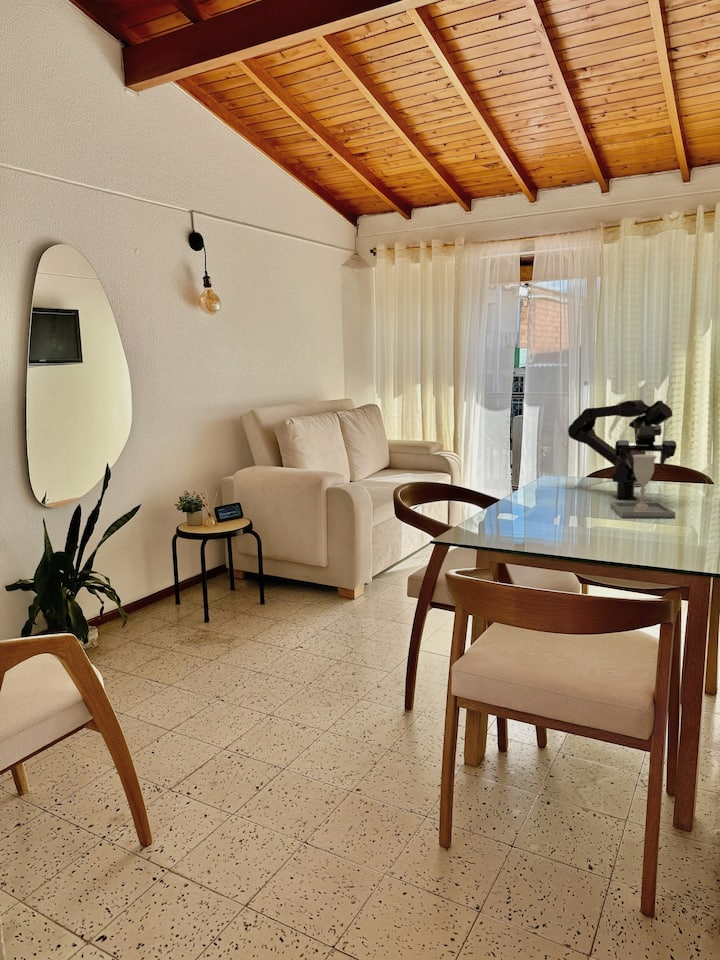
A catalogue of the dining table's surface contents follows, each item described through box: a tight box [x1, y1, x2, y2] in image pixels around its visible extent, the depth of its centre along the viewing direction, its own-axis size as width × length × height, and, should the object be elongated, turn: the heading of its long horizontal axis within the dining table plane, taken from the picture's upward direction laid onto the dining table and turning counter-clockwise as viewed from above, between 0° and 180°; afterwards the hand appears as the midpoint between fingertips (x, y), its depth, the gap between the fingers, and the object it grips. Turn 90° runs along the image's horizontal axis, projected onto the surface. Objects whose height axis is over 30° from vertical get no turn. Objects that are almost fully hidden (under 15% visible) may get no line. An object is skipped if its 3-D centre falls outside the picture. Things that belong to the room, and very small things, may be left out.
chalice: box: [633, 454, 657, 511], centre depth 219 cm, size 7×7×18 cm
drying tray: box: [609, 501, 676, 519], centre depth 221 cm, size 15×16×2 cm
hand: (646, 468), depth 225 cm, fingers open, 9 cm apart
